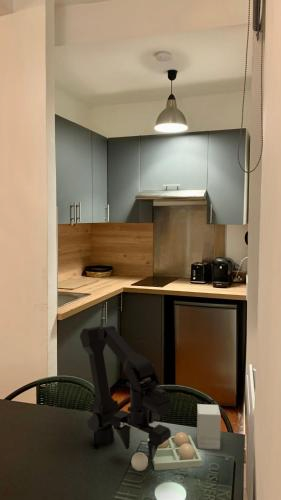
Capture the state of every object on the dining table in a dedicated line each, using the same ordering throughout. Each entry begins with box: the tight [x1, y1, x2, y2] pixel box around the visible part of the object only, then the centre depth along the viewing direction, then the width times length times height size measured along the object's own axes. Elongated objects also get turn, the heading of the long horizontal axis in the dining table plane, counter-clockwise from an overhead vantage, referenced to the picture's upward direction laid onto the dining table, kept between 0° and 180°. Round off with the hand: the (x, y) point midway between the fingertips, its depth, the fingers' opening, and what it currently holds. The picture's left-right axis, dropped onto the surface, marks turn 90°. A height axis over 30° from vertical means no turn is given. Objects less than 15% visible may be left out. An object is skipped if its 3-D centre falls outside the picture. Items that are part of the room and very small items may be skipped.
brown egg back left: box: [158, 440, 169, 449], centre depth 130 cm, size 5×5×5 cm
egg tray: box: [147, 434, 203, 471], centre depth 127 cm, size 14×14×3 cm
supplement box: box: [196, 403, 222, 450], centre depth 134 cm, size 7×7×13 cm
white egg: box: [130, 451, 149, 472], centre depth 120 cm, size 5×5×5 cm
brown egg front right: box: [179, 443, 195, 460], centre depth 124 cm, size 5×5×5 cm
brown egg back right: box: [174, 431, 189, 448], centre depth 130 cm, size 5×5×5 cm
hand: (139, 453), depth 120 cm, fingers open, 9 cm apart
